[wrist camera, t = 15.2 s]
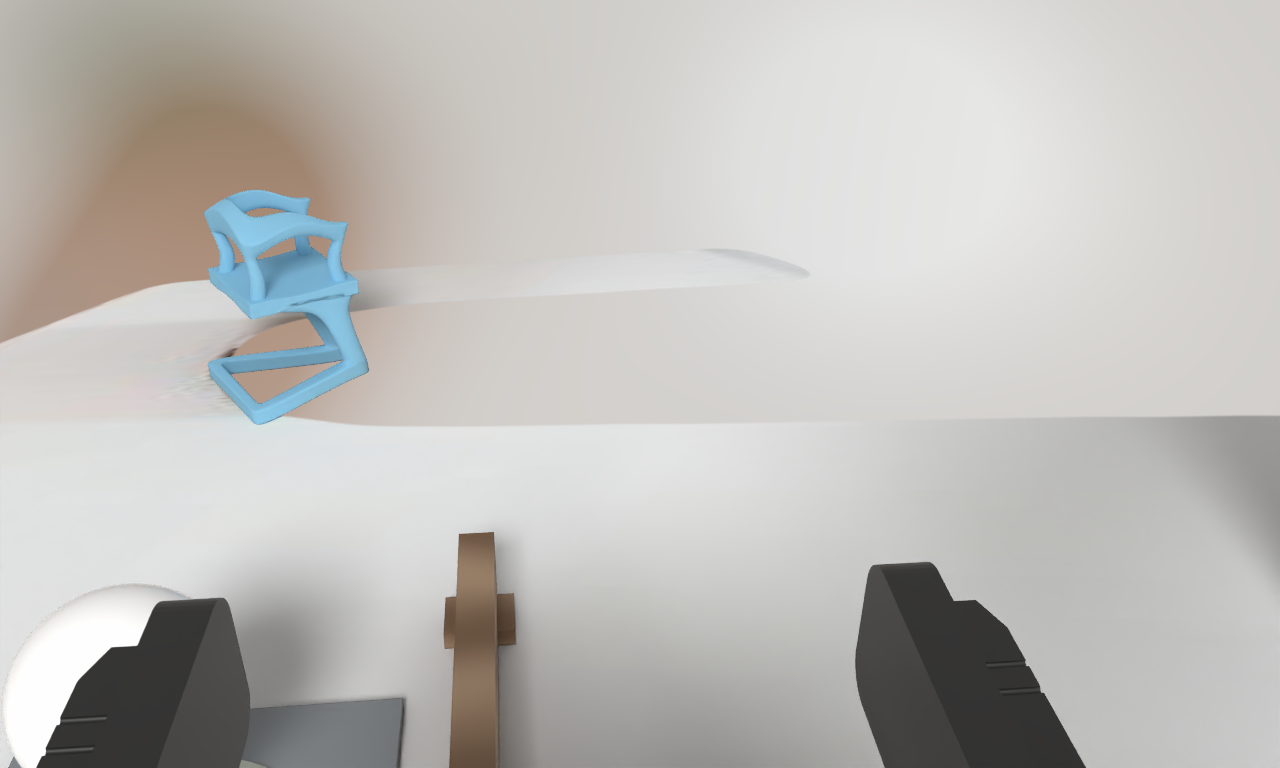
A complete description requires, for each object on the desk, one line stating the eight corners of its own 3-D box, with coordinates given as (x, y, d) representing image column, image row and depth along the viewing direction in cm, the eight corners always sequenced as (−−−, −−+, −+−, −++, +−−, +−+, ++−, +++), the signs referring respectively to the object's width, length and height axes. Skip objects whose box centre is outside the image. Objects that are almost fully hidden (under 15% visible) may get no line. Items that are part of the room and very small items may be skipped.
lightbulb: (22, 908, 34) (-79, 645, 29) (174, 765, 39) (110, 520, 34) (174, 991, 32) (93, 722, 27) (314, 828, 37) (269, 576, 32)
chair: (387, 386, 66) (371, 199, 61) (255, 426, 62) (223, 228, 56) (333, 341, 72) (313, 165, 66) (207, 375, 67) (174, 188, 61)
